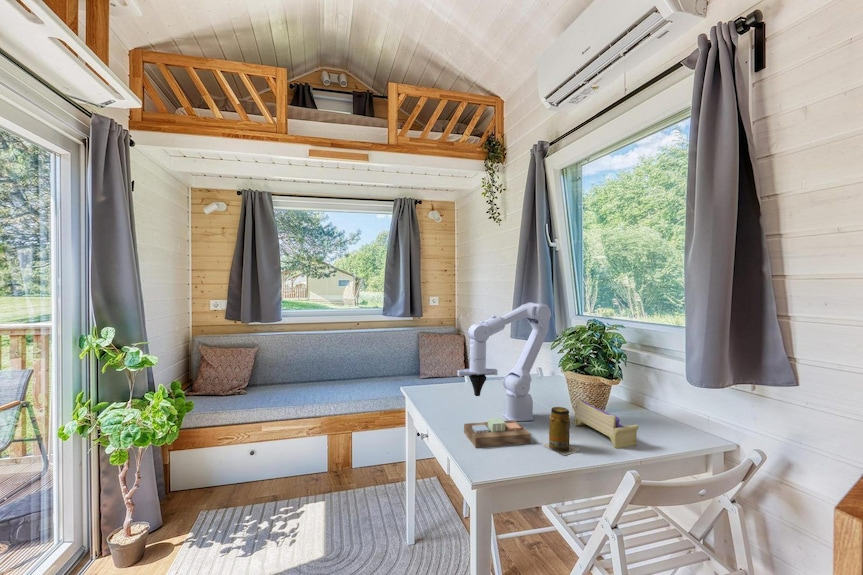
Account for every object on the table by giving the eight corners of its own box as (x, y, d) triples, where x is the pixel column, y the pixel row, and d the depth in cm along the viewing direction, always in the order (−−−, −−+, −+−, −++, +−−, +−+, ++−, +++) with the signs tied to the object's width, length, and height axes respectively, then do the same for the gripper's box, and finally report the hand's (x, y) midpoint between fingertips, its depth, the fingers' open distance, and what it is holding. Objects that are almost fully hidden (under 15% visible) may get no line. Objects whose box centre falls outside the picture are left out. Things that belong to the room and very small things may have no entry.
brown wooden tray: (514, 428, 139) (514, 420, 139) (530, 443, 127) (530, 433, 127) (463, 432, 135) (464, 423, 135) (475, 447, 123) (475, 438, 123)
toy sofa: (638, 446, 126) (639, 414, 126) (616, 450, 123) (617, 417, 123) (592, 423, 146) (593, 395, 146) (572, 425, 143) (573, 397, 143)
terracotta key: (515, 432, 135) (515, 422, 134) (521, 437, 130) (521, 427, 130) (503, 433, 134) (503, 423, 134) (508, 438, 129) (508, 428, 129)
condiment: (558, 440, 129) (559, 404, 129) (580, 450, 122) (581, 412, 122) (542, 445, 125) (543, 407, 125) (564, 456, 118) (565, 416, 118)
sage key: (500, 428, 133) (500, 418, 133) (505, 433, 129) (505, 423, 129) (487, 429, 132) (487, 419, 132) (492, 434, 128) (492, 424, 128)
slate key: (484, 434, 132) (484, 424, 132) (489, 440, 128) (489, 429, 128) (471, 435, 131) (471, 425, 131) (476, 441, 127) (476, 430, 127)
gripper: (492, 355, 149) (492, 391, 149) (455, 356, 146) (454, 393, 146) (500, 359, 142) (499, 396, 142) (460, 360, 139) (460, 398, 139)
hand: (477, 395), depth 144 cm, fingers closed
